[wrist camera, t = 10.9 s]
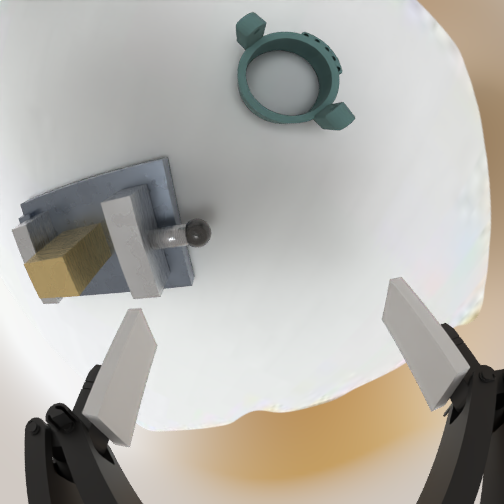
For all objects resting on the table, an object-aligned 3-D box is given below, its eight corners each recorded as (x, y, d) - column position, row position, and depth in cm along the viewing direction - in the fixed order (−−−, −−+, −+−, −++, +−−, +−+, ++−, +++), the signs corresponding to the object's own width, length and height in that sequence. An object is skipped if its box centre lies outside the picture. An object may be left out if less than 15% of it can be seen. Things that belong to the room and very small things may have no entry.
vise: (29, 199, 26) (-2, 217, 20) (167, 157, 25) (146, 167, 19) (62, 289, 32) (41, 316, 26) (194, 276, 32) (185, 310, 26)
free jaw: (120, 189, 24) (100, 203, 20) (204, 172, 24) (196, 182, 20) (146, 275, 29) (133, 298, 25) (221, 266, 29) (218, 290, 25)
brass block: (62, 231, 26) (23, 264, 19) (100, 222, 26) (62, 256, 19) (73, 261, 28) (39, 298, 21) (111, 255, 28) (79, 296, 21)
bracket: (320, 131, 25) (355, 135, 17) (228, 117, 24) (222, 112, 16) (331, 53, 21) (367, 27, 13) (240, 36, 20) (240, -1, 12)
